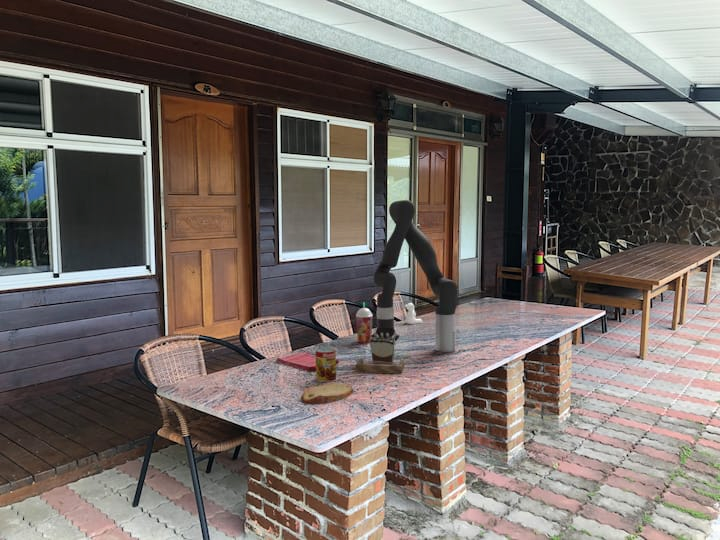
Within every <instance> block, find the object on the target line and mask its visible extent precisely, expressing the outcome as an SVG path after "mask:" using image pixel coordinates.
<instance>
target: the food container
mask: <svg viewBox="0 0 720 540" xmlns="http://www.w3.org/2000/svg"><path fill="white" fill-rule="evenodd" d="M396 342H397V341H395V339H394V337H393V336H392V337H389V339H381V338H380V337H379V336H377V337H373V338H370V340H369V343H368V344H370V346H369V347H370V353H371V359H372V360H371V361H372V362H376V361H377V362H378V363H386V362H388V363H387V364H393V363H394V356H395V354H394V353H395V346H396V345H397V343H396ZM377 362H376V363H377Z"/></svg>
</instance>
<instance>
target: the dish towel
mask: <svg viewBox="0 0 720 540" xmlns="http://www.w3.org/2000/svg"><path fill="white" fill-rule="evenodd" d="M275 363H278V364H280V363H281V365H285V366H287V365H288V366H287V367H291V366H292V368H295V367H296V368H295V369H298V370H299V369H300V370H302V369H303V371H306V370H307V371H306V372H310V371H311V372H315V371H316V354H315V355H314V354H310V353H307V352H300V353H296V354H293V355H288V356H286V357H278V358H276V360H275ZM339 363H340V361H339V360H338V359H336V365H338V364H339ZM314 370H315V371H314Z"/></svg>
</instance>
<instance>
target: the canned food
mask: <svg viewBox="0 0 720 540" xmlns="http://www.w3.org/2000/svg"><path fill="white" fill-rule="evenodd" d="M336 352H337V351H336V347H332V346H331V347H330V346H322V347H321V346H320V347H318V348H315V356H316V370H315V372H316V373H315V374H316V375H315V376H316V377H315V378H316V379H315V380H316V381H318V382H320V383H330V382H334V381H336V380H337V364H336V360H337V357H336V355H337V354H336Z"/></svg>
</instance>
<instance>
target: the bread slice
mask: <svg viewBox="0 0 720 540" xmlns="http://www.w3.org/2000/svg"><path fill="white" fill-rule="evenodd" d="M353 393H354V388H353V387H352V385H350V384H348V383H345V382H337V383H328V384H322V385H319V386H318V385H317V386H314V387H308V388H307V389H305V391H303V393H302V394H301V397H300V398H301V403H303V404H308V405H313V404H329V403H333V402H338V401H341V400H343V399H346V398H348V397H350V396H351V395H353Z"/></svg>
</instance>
